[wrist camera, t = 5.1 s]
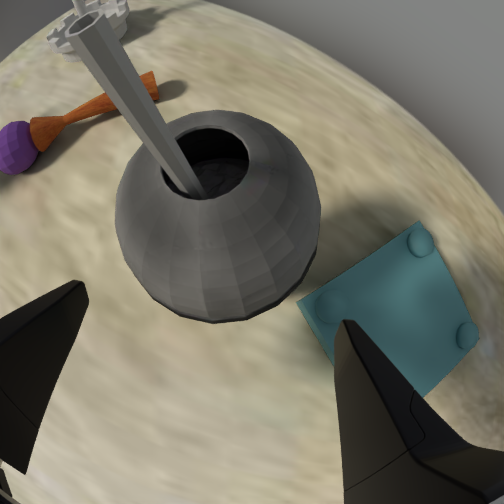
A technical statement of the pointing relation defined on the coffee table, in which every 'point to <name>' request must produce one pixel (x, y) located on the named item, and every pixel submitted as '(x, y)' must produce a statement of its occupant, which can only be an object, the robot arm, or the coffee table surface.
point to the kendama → (51, 130)
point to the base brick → (399, 308)
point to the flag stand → (113, 11)
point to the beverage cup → (204, 197)
